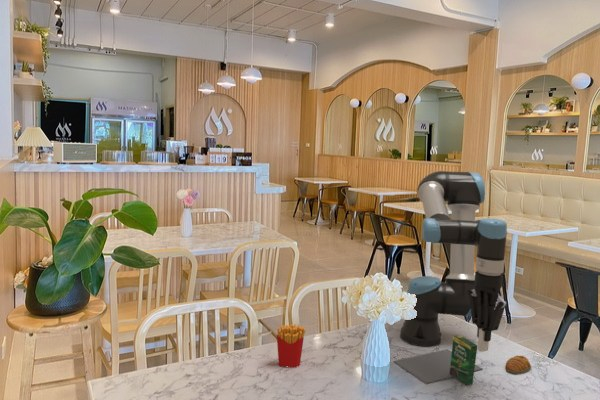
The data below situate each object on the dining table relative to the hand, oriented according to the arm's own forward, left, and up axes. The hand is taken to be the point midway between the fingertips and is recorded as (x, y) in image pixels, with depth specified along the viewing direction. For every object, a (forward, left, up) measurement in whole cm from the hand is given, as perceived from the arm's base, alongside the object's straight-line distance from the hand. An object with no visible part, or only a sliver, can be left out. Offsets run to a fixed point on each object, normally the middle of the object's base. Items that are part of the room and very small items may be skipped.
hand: (482, 350), depth 139 cm
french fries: (-38, -45, -13) cm, 60 cm away
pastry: (-6, +24, -14) cm, 28 cm away
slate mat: (-18, 0, -13) cm, 22 cm away
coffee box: (-8, 0, -13) cm, 15 cm away
